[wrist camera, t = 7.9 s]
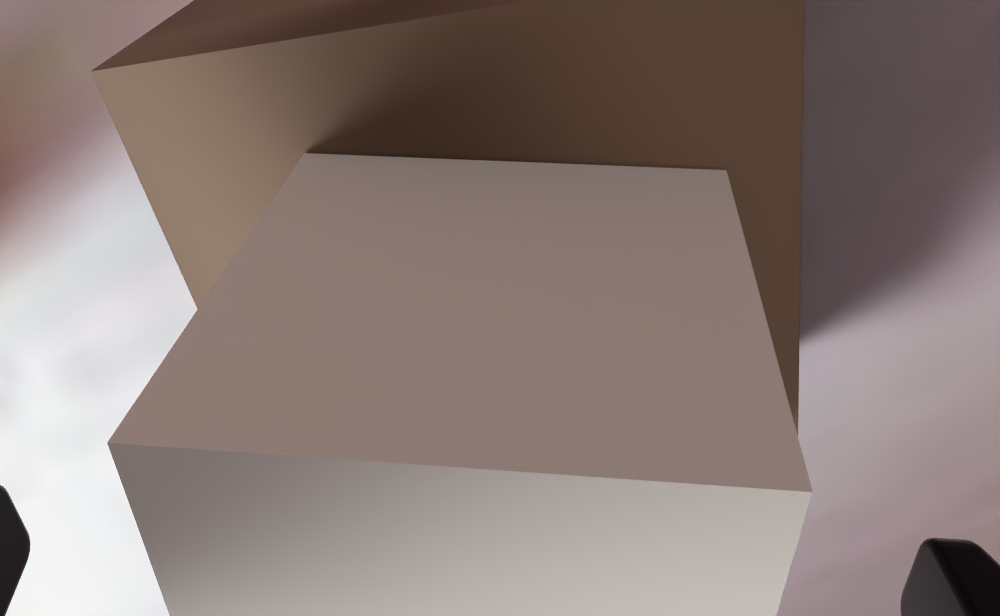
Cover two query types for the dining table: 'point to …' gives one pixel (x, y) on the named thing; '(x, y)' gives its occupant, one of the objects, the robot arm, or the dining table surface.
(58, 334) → the dining table surface
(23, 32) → the dining table surface
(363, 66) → the tan flat block
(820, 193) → the dining table surface
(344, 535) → the white cube
